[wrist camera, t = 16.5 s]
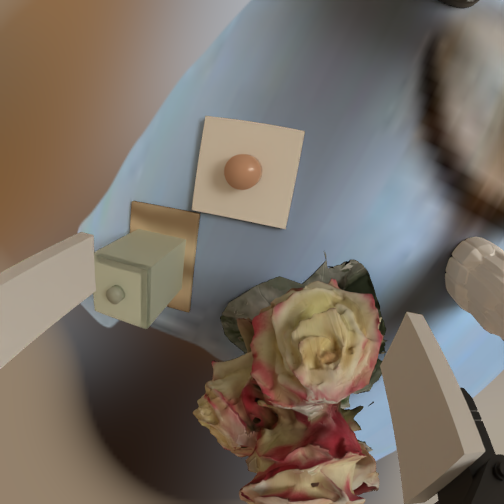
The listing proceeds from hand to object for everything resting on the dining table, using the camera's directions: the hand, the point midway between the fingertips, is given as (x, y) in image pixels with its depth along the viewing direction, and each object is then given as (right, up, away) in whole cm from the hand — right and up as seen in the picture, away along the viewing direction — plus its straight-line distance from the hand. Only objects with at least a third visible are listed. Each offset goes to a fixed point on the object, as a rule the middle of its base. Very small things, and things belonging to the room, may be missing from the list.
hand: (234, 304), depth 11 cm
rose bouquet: (+8, -12, +34) cm, 37 cm away
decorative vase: (+35, -1, +26) cm, 44 cm away
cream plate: (0, +13, +27) cm, 30 cm away
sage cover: (-13, +1, +33) cm, 36 cm away
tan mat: (-13, +1, +34) cm, 36 cm away
